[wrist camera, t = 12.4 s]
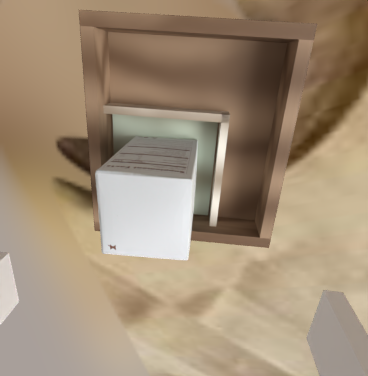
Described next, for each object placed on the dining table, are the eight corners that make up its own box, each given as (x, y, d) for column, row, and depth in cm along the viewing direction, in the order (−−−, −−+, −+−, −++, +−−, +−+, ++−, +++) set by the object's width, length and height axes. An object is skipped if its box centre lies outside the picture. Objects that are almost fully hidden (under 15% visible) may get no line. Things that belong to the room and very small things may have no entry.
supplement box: (195, 198, 34) (188, 264, 23) (135, 193, 35) (98, 256, 23) (200, 137, 31) (195, 179, 20) (134, 133, 32) (91, 170, 20)
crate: (97, 18, 28) (78, 9, 24) (300, 30, 27) (317, 23, 23) (107, 212, 37) (94, 230, 33) (261, 227, 36) (268, 247, 32)
